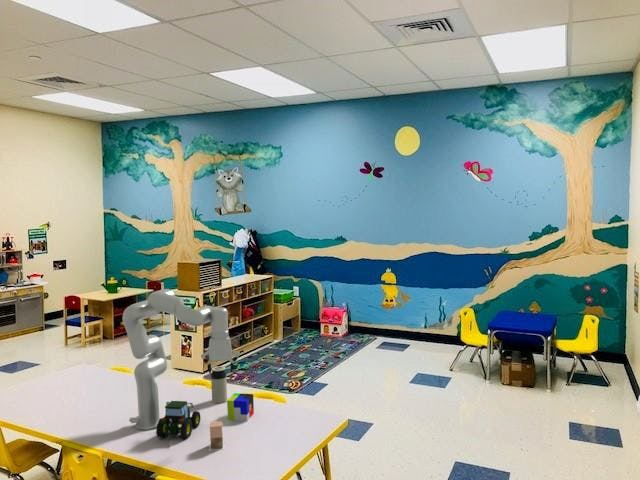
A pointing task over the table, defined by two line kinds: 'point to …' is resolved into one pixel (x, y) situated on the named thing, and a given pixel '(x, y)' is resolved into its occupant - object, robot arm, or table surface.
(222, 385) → the travel mug
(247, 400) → the puzzle toy
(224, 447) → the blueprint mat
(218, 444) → the walnut block
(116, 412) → the table surface
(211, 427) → the terracotta block
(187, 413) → the toy tractor
